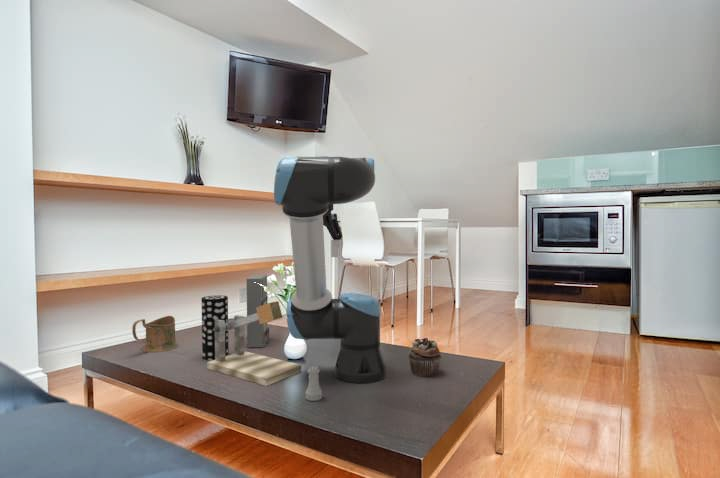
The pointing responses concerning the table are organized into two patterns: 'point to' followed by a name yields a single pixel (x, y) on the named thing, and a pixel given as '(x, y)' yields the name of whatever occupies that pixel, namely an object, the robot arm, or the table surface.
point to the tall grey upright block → (256, 298)
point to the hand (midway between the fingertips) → (323, 258)
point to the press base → (247, 360)
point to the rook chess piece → (313, 384)
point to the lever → (258, 316)
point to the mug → (158, 334)
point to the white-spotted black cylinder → (213, 323)
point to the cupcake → (424, 358)
